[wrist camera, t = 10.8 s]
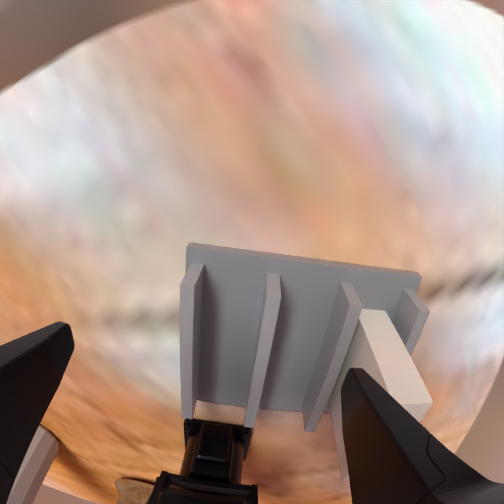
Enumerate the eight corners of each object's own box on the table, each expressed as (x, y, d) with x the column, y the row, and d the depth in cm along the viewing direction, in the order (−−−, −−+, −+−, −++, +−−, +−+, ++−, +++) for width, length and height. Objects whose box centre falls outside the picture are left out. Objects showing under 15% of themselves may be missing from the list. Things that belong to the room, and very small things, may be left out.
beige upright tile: (353, 390, 24) (375, 479, 15) (326, 389, 24) (341, 481, 15) (385, 310, 21) (433, 402, 12) (354, 308, 21) (393, 405, 12)
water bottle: (41, 417, 31) (-30, 552, 8) (71, 452, 34) (17, 578, 10) (6, 410, 32) (-61, 521, 9) (34, 442, 35) (-20, 550, 11)
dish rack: (361, 406, 26) (369, 437, 22) (186, 391, 26) (177, 423, 22) (417, 272, 20) (440, 298, 17) (189, 242, 20) (173, 266, 17)
